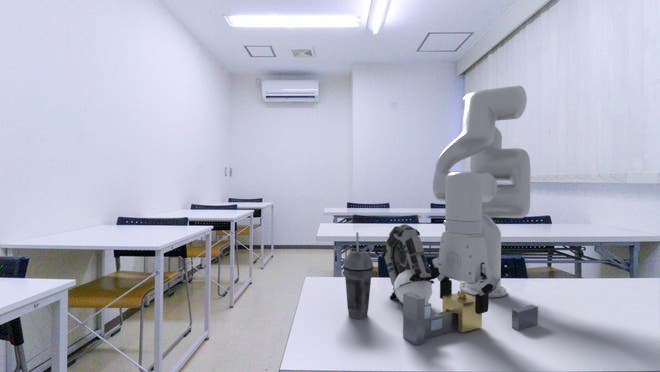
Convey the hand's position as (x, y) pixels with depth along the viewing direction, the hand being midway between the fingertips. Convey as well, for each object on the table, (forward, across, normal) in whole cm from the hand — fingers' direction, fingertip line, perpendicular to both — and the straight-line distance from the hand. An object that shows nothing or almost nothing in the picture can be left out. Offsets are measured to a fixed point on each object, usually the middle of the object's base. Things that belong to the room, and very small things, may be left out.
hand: (462, 304), depth 74 cm
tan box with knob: (+4, 0, 0) cm, 4 cm away
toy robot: (+5, -19, 0) cm, 20 cm away
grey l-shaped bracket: (+5, 0, -6) cm, 8 cm away
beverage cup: (+5, -16, -17) cm, 24 cm away
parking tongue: (+5, +6, +13) cm, 15 cm away
